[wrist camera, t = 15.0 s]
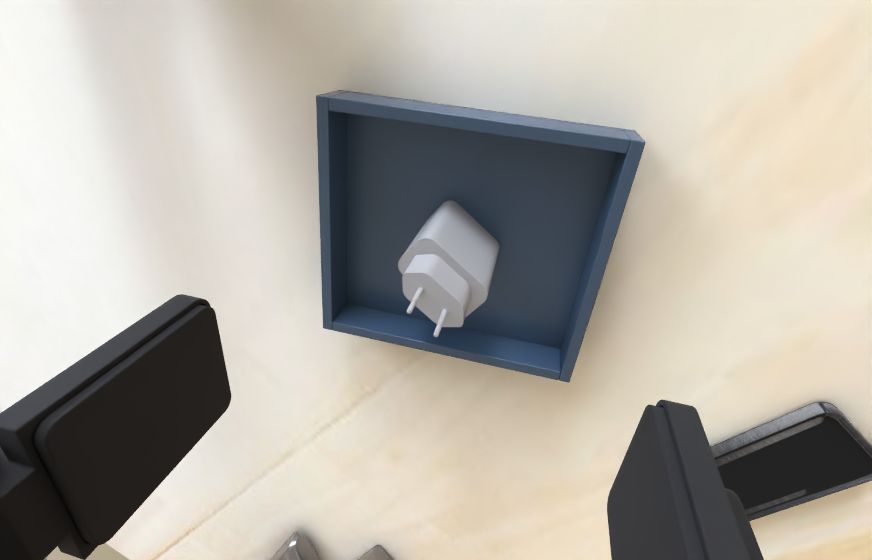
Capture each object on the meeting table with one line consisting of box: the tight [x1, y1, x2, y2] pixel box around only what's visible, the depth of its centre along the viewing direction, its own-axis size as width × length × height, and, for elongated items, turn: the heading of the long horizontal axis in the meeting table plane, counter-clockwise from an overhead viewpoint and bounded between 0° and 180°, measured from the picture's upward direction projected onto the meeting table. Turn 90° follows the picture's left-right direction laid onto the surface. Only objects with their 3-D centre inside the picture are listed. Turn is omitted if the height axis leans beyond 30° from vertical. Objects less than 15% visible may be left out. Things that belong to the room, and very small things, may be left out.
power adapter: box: [398, 200, 500, 337], centre depth 28 cm, size 3×5×12 cm, turn 48°
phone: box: [710, 402, 872, 521], centre depth 37 cm, size 8×1×15 cm
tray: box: [316, 90, 645, 382], centre depth 32 cm, size 20×18×4 cm
